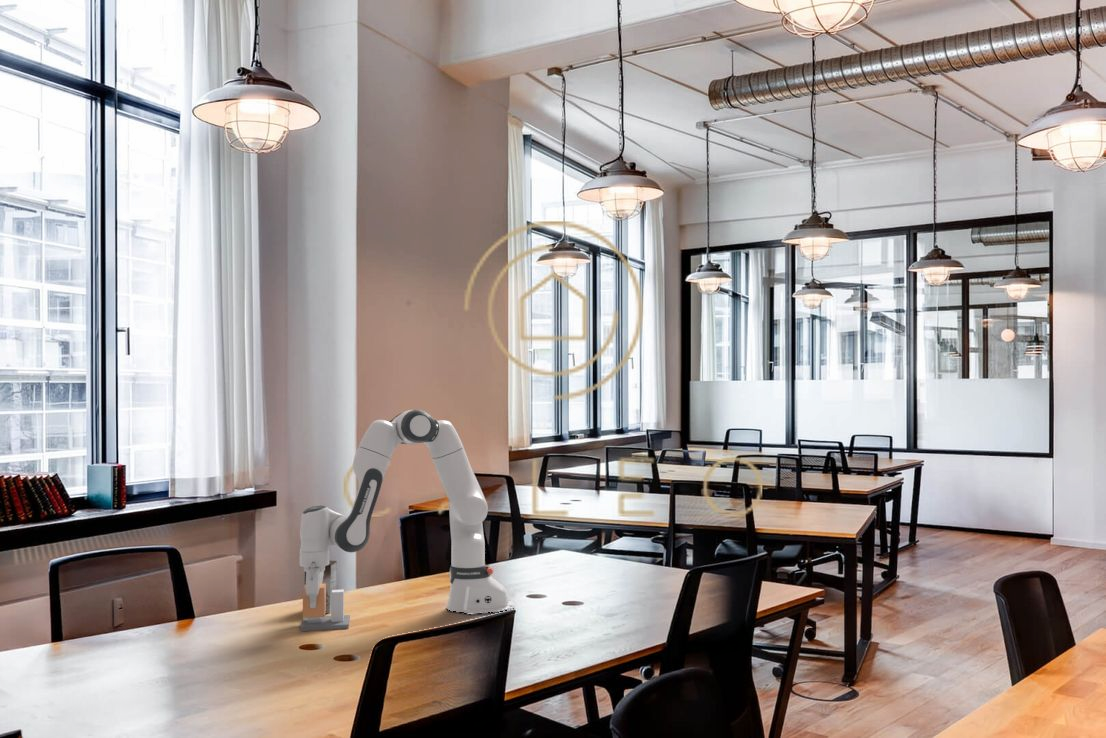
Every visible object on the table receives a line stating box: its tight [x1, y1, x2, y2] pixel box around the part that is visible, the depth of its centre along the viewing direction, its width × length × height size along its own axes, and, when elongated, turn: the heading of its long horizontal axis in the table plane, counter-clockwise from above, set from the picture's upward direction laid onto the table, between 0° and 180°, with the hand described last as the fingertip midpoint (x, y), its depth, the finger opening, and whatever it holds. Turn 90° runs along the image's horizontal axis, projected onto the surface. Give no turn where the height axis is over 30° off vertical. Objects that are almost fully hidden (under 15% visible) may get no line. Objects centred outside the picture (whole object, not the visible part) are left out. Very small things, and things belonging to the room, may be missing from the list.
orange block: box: [302, 583, 326, 619], centre depth 276 cm, size 6×6×9 cm
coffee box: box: [304, 559, 338, 614], centre depth 294 cm, size 9×6×16 cm
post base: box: [300, 588, 351, 632], centre depth 276 cm, size 14×12×10 cm
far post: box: [308, 617, 321, 623], centre depth 275 cm, size 4×4×10 cm
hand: (314, 604), depth 276 cm, fingers closed on orange block, 6 cm apart
